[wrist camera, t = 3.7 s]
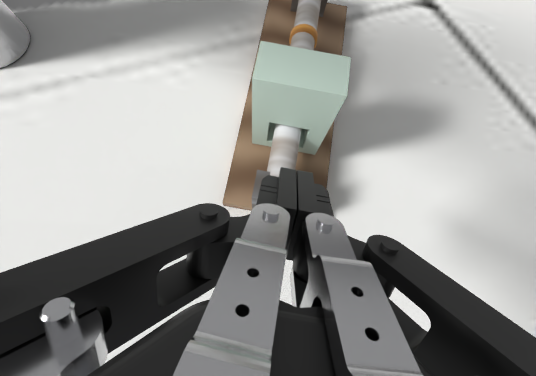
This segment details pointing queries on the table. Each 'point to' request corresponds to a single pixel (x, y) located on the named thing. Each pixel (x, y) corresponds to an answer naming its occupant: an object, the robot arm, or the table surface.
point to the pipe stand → (285, 137)
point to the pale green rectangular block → (297, 92)
